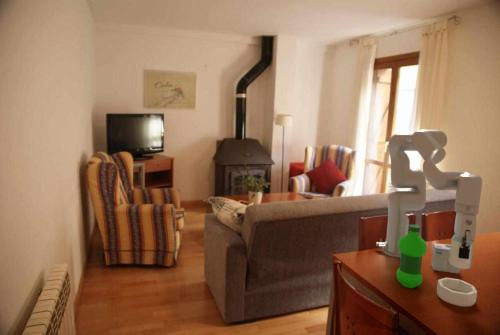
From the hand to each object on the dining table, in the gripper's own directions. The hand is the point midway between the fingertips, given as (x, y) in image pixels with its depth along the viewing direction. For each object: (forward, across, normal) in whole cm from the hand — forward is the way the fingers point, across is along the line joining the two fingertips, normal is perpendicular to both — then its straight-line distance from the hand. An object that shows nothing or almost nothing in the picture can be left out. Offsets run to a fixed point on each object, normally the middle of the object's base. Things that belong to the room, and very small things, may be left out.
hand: (460, 253), depth 127 cm
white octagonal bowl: (+18, 0, 0) cm, 18 cm away
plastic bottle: (+18, +4, +16) cm, 24 cm away
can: (+5, 0, 0) cm, 5 cm away
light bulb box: (+18, +26, -1) cm, 32 cm away
